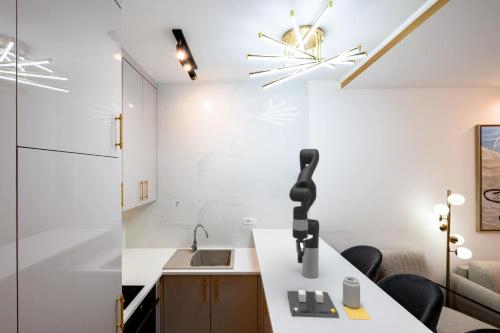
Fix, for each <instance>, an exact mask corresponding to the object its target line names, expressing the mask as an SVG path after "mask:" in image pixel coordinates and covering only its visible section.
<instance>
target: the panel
mask: <svg viewBox="0 0 500 333" xmlns="http://www.w3.org/2000/svg"><path fill="white" fill-rule="evenodd" d="M305 293H306V302H299V298H298V290H287V293H286V294H287V298H288V303H289V309H290V314H291V317H304V318H305V317H306V318H307V317H308V318H330V319H331V318H333V319H339V318H340V315H339V312H338V310H337V308H336V306H335V304H334V303H333V300H332V299H331V296H330V295H329V293H328V291H322V293H323V303H320V302H316V299H315V291H306V290H305Z"/></svg>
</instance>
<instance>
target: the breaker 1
mask: <svg viewBox="0 0 500 333" xmlns="http://www.w3.org/2000/svg"><path fill="white" fill-rule="evenodd" d="M297 291H298V298H299V302H306V293H305V291H306V290H305V289H298V290H297Z"/></svg>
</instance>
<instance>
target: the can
mask: <svg viewBox="0 0 500 333" xmlns="http://www.w3.org/2000/svg"><path fill="white" fill-rule="evenodd" d="M342 302H343V304H344V305H345V306H347V307H350V308H358V307H361V283H360V281H359V279H358V278H356V277H354V276H345V277H344V278H343V280H342Z"/></svg>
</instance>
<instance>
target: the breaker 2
mask: <svg viewBox="0 0 500 333" xmlns="http://www.w3.org/2000/svg"><path fill="white" fill-rule="evenodd" d="M314 292H315V299H316V302H320V303H323V293H322V292H323V291H322V290H314Z"/></svg>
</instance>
